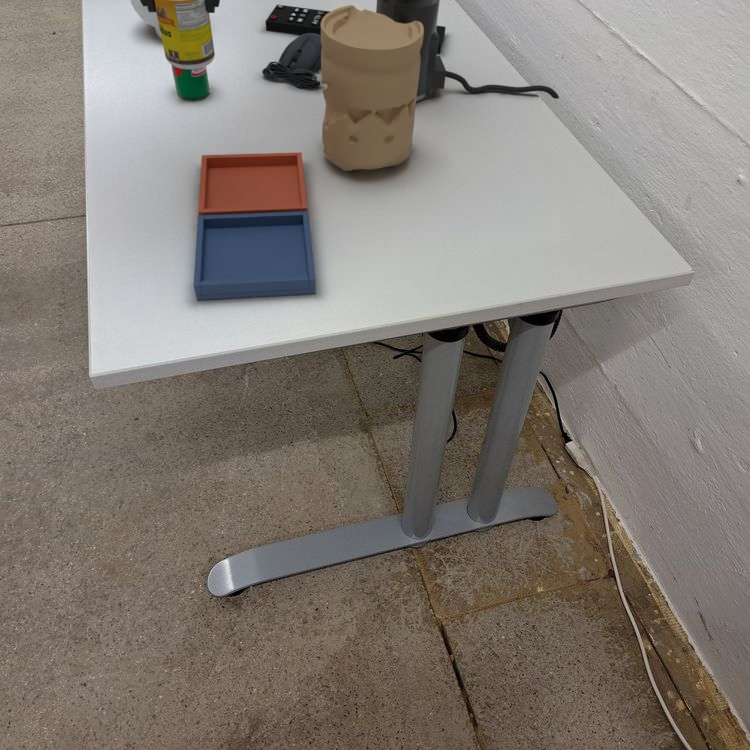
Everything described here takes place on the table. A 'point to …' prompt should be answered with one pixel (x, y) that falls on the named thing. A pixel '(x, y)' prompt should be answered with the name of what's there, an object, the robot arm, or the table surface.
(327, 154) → the container
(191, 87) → the soda can
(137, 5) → the figurine
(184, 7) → the supplement bottle
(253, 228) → the blue tray
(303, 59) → the computer mouse
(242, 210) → the terracotta tray
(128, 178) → the table surface
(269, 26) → the remote control
